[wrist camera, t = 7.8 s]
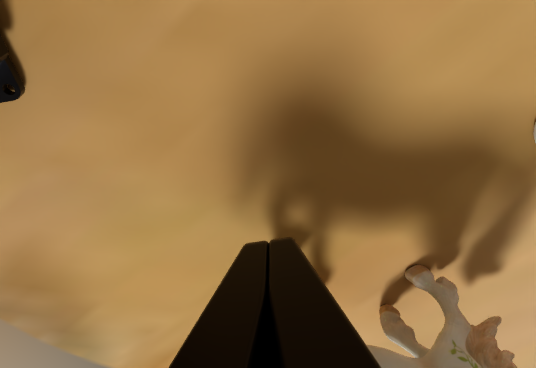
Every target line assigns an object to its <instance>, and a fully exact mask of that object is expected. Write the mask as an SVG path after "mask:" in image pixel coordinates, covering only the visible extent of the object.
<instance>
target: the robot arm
mask: <svg viewBox="0 0 536 368" xmlns="http://www.w3.org/2000/svg"><path fill="white" fill-rule="evenodd" d="M8 52H9V51H8V48H7V46H6V45H5V43H4V41H3V39H2V37H1V35H0V103H2V102H8V101H13V100H16V99H18V98H20V97H21V96H22V95H23V94H24V92H25V87H24V84H23V82H22V80H21V78H20V76H19V74H18V72H17V70H16V68H15V66H14V65H13V63H12V61H11V59H10V57H9V55H8ZM7 84H9V85H11V86H13V88H14V89H15V92H14V91H11V90H10V89H9V88H8V87H7ZM169 368H381V366H380V365H379V363H378V362H377V360H376V359H375V357H374V356H373V354H372V353H371V352H370V350H369V349H368V347H367V346H366V344H365V343H364V341H363V340H362V338H361V337H360V335H359V334H358V332H357V331H356V330H355V328H354V327H353V325H352V324H351V322H350V321H349V319H348V318H347V316H346V315H345V313H344V312H343V310H342V309H341V308H340V306H339V305H338V303H337V302H336V300H335V299H334V297H333V296H332V294H331V293H330V291H329V290H328V288H327V287H326V286H325V284H324V283H323V281H322V280H321V278H320V277H319V275H318V274H317V272H316V271H315V269H314V268H313V266H312V265H311V264H310V262H309V261H308V259H307V258H306V256H305V255H304V253H303V252H302V250H301V249H300V247H299V246H298V244H297V243H296V242H295V240H294V239H293V238H291V237H287V238H280V239H273V240H271V241H270V243H268V242H267V241H259V242H252V243H247V244H245V245H244V246H243V247H242V249H241V251H240V252H239V254H238V256H237V257H236V259H235V260H234V262H233V264H232V265H231V267H230V269H229V270H228V272H227V273H226V275H225V277H224V278H223V280H222V282H221V283H220V285H219V286H218V288H217V290H216V291H215V293H214V295H213V296H212V298H211V299H210V301H209V303H208V304H207V306H206V308H205V309H204V311H203V312H202V314H201V316H200V317H199V319H198V321H197V322H196V324H195V325H194V327H193V329H192V330H191V332H190V334H189V335H188V337H187V338H186V340H185V342H184V343H183V345H182V347H181V348H180V350H179V351H178V353H177V355H176V356H175V358H174V360H173V361H172V363H171V364H170V366H169Z"/></svg>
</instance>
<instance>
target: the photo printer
mask: <svg viewBox="0 0 536 368" xmlns="http://www.w3.org/2000/svg"><path fill="white" fill-rule="evenodd" d="M534 140H535V143H536V122H535V126H534Z"/></svg>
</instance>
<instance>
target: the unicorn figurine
mask: <svg viewBox="0 0 536 368" xmlns="http://www.w3.org/2000/svg"><path fill="white" fill-rule="evenodd" d="M405 277H406V279H408V280H409V281H410V282H412V283H413V284H414V285H415V287H417V288H420V289H423V290H425V291H427V292H428V293H429V294H431V295H432V296H433V297H434V298H435V299H436V300H437V302H438V303H439V305H440V306H441V308H442V310H443V312H444V316H445V324H444V327H443V329H442V331H441V332H440V333H439V335H438V337H437V339H436V341H435V343H434V345H433V346H432V348H431V349H428V348H426V347H424V346H422V345H421V344H419V343H418V342H417V341H416V338H415V333H414V330H413V329H412V328H411V327H409V326H407V325H406V324H405V323H404V321H403V320H402V319H401V318H400V313H399V311H398V310H397V309H396V308H394V307H393V306H391V305H383V306H381V307H380V310H379V312H380V322H381V325H382V328H383V331H384V333H385V335H386V336H387V337H388V339H389V340H391V341H392V342H394V343H396V344H397V345H399V346H400V347H402V348H403V349H405V350H406V351H408V352H409V353H411V354H412V355H413V356H414V357H415V358H411V357H407V356H404V355H401V354H399V353H396V352H393V351H391V350H388V349H385V348H381V347H377V346H372V345H366V346H367V347H368V349H369V350H370V352H371V353H372V354H373V356H374V357H375V359H376V360H377V362H378V363H379V365H380V366H381V368H517V367H516V365H515V364H514V363H513V362H512V359H513V358H514V356H515V355H514V354H513V353H511V352H510V351H507V350H503V351H501V350H500V349H499V348H498V347H497V340H496V339H495V335H496V332H497V326H498V325H499V324H500V323H501V317H499V316H494V317H490V318H488V319H486V320H485V321H483V322H482V323H481V324H479V325H477V326H474V325H470V324H469V322H468V321H467V320H466V318H465V317H464V315H463V314H462V313H461V311H460V310H459V308H458V305H457V304H458V301H459V296H458V293H457V288H456V285H455V284H454V283H452V282H450V281H449V280H448V279H446V278H445V277H443V276H442V277H439V278H438V279H437V280H436V281H435V280H434V275H433V274H432V273H431V272H430V271H429V270H428V268H427V267H425V266H422V265H415V266H413V267H411V268H409V269H408V270H407V271H406V272H405Z"/></svg>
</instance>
